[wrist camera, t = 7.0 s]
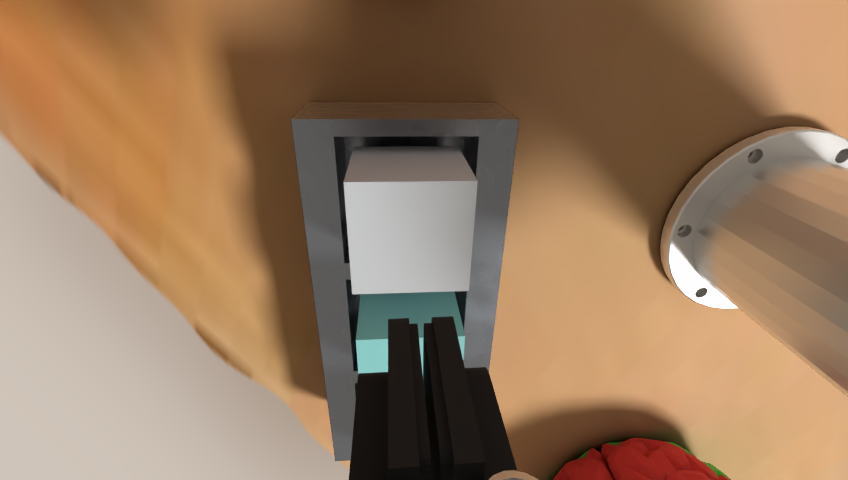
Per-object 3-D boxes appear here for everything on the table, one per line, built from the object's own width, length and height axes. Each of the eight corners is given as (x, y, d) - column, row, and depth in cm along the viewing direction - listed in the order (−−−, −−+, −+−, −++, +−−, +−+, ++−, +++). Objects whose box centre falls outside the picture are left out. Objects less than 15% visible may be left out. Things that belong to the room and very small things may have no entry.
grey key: (458, 146, 20) (477, 180, 16) (452, 238, 22) (469, 291, 18) (353, 146, 20) (343, 182, 15) (359, 240, 22) (352, 294, 17)
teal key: (450, 277, 23) (465, 336, 19) (447, 344, 26) (459, 411, 21) (362, 279, 23) (355, 340, 19) (366, 348, 25) (361, 416, 21)
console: (495, 102, 23) (519, 119, 18) (467, 400, 33) (478, 452, 29) (309, 101, 22) (290, 118, 18) (342, 406, 32) (335, 461, 28)
